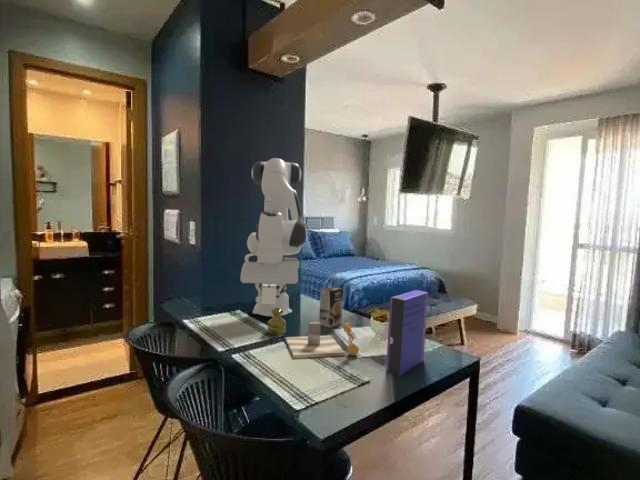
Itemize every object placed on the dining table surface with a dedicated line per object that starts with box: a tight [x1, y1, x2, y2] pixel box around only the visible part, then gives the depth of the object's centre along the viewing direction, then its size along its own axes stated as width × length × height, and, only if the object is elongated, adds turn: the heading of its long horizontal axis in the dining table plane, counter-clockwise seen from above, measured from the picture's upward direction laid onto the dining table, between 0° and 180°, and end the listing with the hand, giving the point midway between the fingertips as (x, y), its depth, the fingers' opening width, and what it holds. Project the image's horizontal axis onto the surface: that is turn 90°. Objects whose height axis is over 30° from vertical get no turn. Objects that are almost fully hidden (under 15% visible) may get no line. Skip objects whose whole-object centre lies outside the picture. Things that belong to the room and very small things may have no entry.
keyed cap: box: [262, 284, 276, 304], centre depth 136 cm, size 7×5×6 cm
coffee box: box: [318, 286, 344, 329], centre depth 169 cm, size 9×6×16 cm
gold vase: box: [266, 308, 287, 335], centre depth 155 cm, size 7×7×10 cm
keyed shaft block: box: [284, 321, 346, 359], centre depth 139 cm, size 18×18×9 cm
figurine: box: [342, 321, 360, 356], centre depth 133 cm, size 8×6×12 cm
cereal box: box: [385, 289, 429, 377], centre depth 126 cm, size 17×5×24 cm, turn 141°
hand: (268, 295), depth 136 cm, fingers closed on keyed cap, 5 cm apart
